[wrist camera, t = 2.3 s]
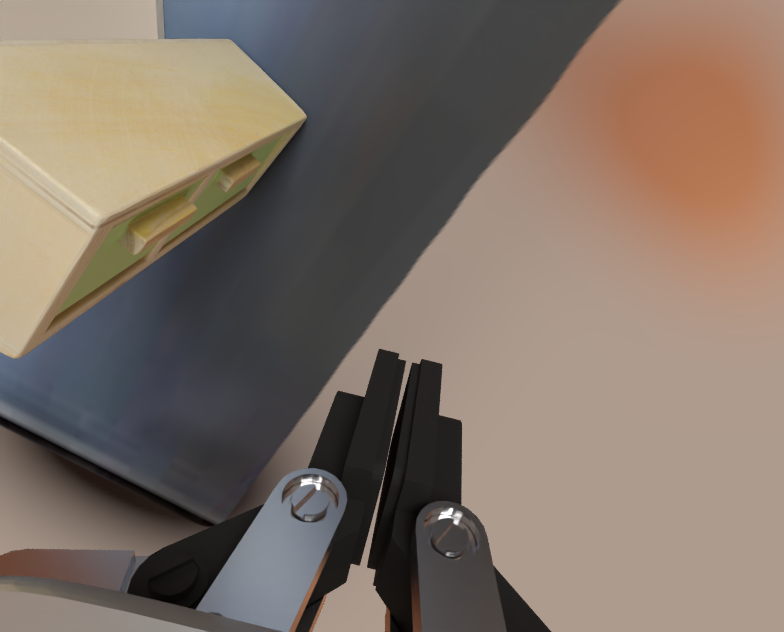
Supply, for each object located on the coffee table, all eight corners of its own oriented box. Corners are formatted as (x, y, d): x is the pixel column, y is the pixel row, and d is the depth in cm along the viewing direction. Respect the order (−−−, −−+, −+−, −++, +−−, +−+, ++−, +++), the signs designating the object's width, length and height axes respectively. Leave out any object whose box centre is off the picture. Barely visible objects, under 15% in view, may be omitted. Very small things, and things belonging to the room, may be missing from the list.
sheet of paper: (-170, -144, 28) (-186, -148, 27) (159, -70, 27) (151, -73, 27) (-66, 189, 38) (-76, 192, 37) (175, 246, 38) (169, 249, 37)
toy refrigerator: (252, 207, 35) (28, 377, 17) (169, 132, 33) (-183, 236, 15) (319, 125, 32) (126, 231, 14) (231, 37, 30) (-131, 23, 12)
